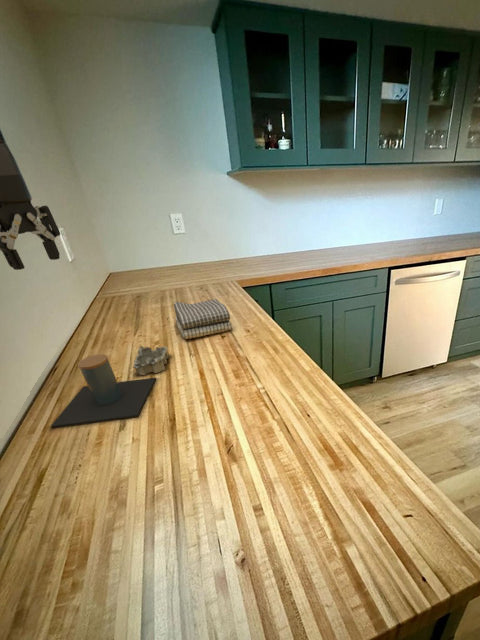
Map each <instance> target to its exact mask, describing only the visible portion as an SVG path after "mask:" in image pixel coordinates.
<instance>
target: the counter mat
mask: <svg viewBox="0 0 480 640" xmlns="http://www.w3.org/2000/svg"><path fill="white" fill-rule="evenodd" d="M156 381H157V378H156V377H149V378H141V379H134V380H126V381H125V380H124V381H117V382H118V385H119V387H120V390H121V392H122V396H121V398H120V399H118V400H117V401H115V402H113V403H110V404H107V405H98V404H97V403H96V402H95V400H94V398H93V396H92V393H91V391H90V389H89V387H88V385H85V386H82V388H80V389H79V391H78V392H77V394H76V395H75V396H74V397H73V398H72V399H71V401H70V402H69V403H68V404H67V405H66V407H65V408H64V410H63V411H62V412H61V413H60V414H59V415H58V417H56V419H55V420H54V422H53V423H52V424H51V425H50V427H51V429H59V428H65V427H73V426H80V425H88V424H95V423H104V422H110V421H112V422H113V421H119V420H127V419H133V418H139V416H140V414H141V412H142V411H143V408H144V406H145V404H146V402H147V400H148V398H149V396H150V394H151V392H152V389H153V388H154V385H155V383H156Z"/></svg>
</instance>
